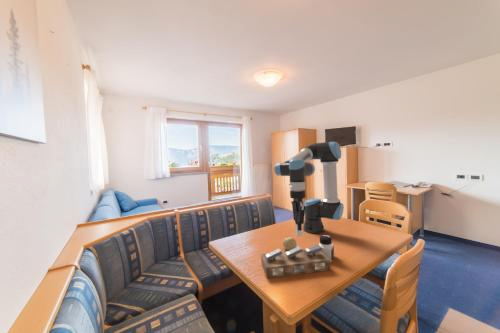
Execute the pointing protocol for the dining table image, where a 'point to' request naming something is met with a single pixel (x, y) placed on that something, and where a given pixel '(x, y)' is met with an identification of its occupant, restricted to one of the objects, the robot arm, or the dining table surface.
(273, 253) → the block
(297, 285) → the dining table surface
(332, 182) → the robot arm
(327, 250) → the medicine bottle
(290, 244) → the apple
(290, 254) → the block
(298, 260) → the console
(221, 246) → the dining table surface
